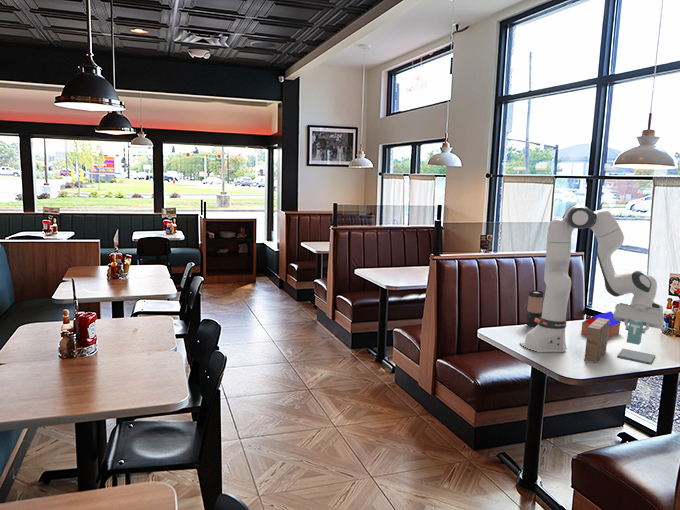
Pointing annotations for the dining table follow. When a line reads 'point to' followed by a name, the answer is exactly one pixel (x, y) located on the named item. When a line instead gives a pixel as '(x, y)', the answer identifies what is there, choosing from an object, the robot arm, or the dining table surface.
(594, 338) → the walnut screen
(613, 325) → the house
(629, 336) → the lettered block
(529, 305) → the travel mug
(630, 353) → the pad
